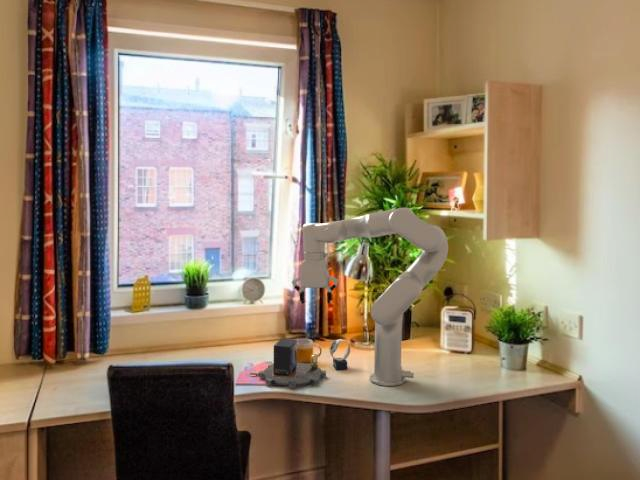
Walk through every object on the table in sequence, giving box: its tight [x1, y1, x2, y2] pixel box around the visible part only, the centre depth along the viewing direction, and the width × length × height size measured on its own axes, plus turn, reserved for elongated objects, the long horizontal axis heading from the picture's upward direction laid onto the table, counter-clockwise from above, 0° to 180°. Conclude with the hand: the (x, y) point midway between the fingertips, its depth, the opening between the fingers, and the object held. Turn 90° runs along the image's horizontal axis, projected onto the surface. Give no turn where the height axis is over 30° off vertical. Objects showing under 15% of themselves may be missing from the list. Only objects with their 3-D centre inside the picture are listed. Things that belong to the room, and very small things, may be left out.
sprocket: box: [258, 353, 327, 389], centre depth 202 cm, size 24×24×7 cm
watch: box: [328, 338, 351, 371], centre depth 213 cm, size 6×8×11 cm
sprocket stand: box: [249, 370, 260, 376], centre depth 203 cm, size 21×10×1 cm, turn 79°
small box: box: [273, 337, 298, 375], centre depth 202 cm, size 11×6×10 cm, turn 168°
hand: (315, 302), depth 205 cm, fingers open, 9 cm apart
